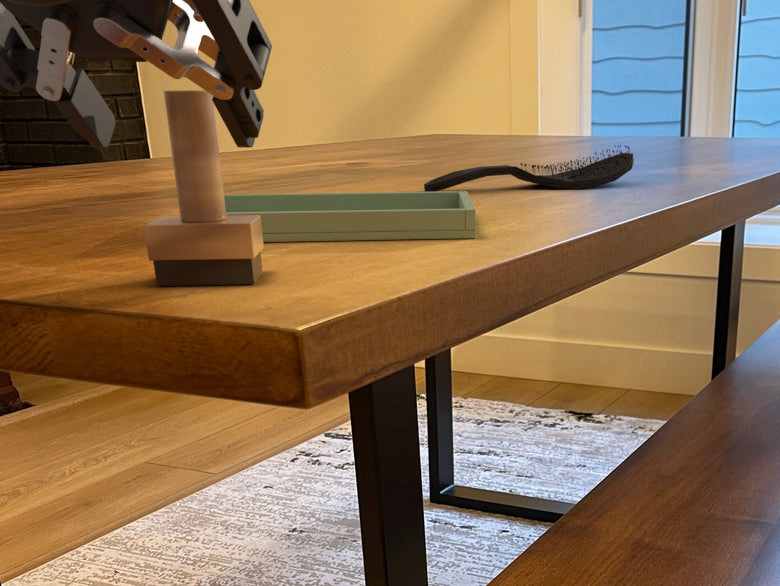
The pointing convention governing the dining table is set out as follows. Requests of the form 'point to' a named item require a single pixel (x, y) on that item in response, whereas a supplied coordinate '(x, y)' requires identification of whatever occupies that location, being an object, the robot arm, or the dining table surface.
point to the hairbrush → (568, 179)
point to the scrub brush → (201, 207)
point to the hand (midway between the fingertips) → (176, 135)
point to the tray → (359, 215)
